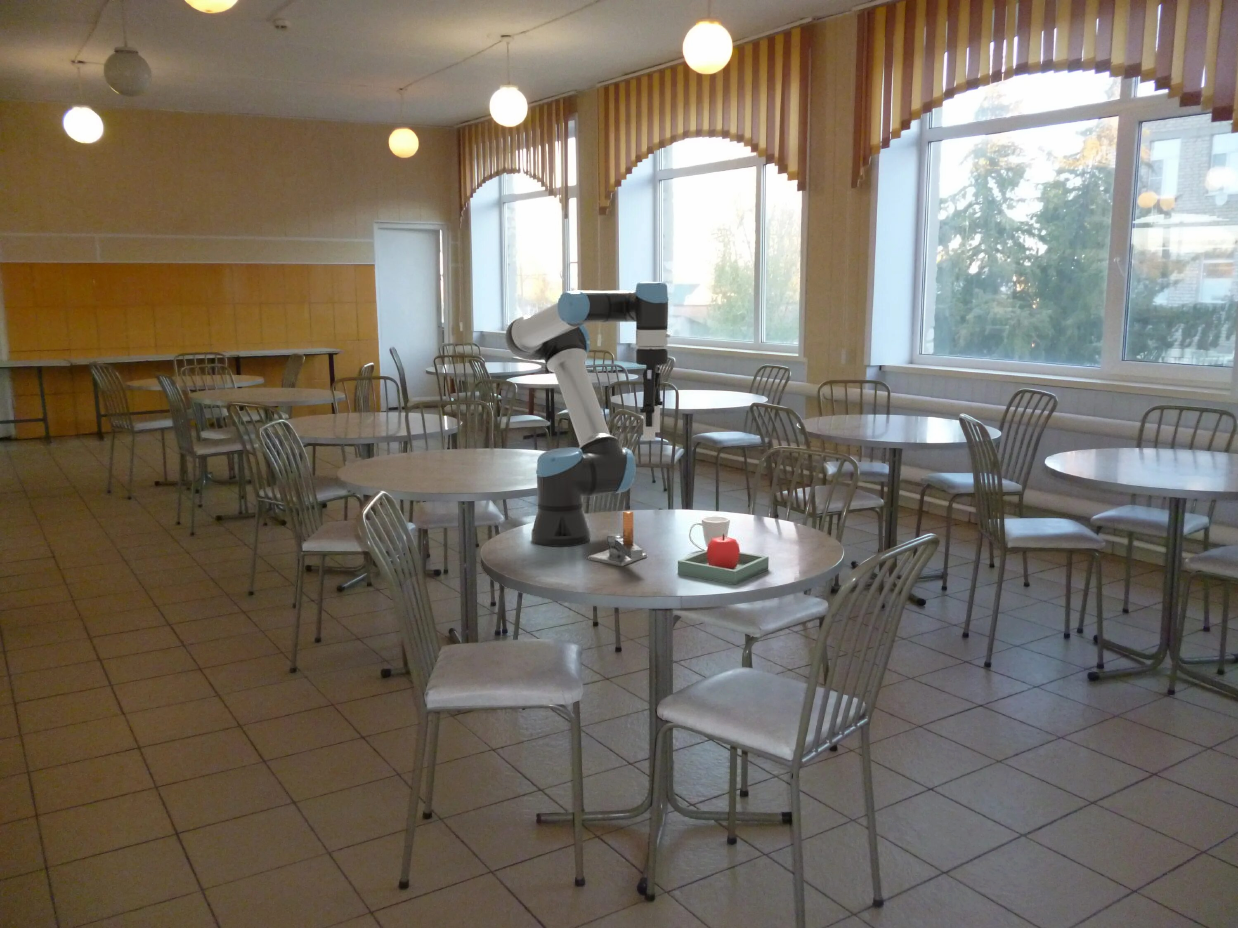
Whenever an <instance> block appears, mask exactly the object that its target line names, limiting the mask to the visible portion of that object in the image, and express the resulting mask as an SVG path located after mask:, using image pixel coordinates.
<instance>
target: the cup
mask: <svg viewBox="0 0 1238 928" xmlns="http://www.w3.org/2000/svg"><path fill="white" fill-rule="evenodd" d="M700 521H701V522H694V523H693V524H692V525H691V526H690V528H689V534H688V535H689V536H688V538H689V541H690V542H691V544H693V545H694V546H695V547H696V548H698V549H699V550H701V551H704V550H707V548H708V545H709V543H710V541H711V540H712V538H718V537H723V534H724V537H728V536H729V535H728V533H729V529H730V524H731V519H730V518H729V517H727V516H721V515H720V516H719V515H712V516H710V515H709V516H705V517H703V518H701V520H700ZM696 525H698V526H702V533H703V538H704V539H703V540H704V542H705V547H707V548H703V547H701V546H700V545H698V544H697V543H695V542H694V541H693V540H692V537H691V534H692V533H691V532H692V529H693V528H694V527H695V526H696Z"/></svg>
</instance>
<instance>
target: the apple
mask: <svg viewBox="0 0 1238 928" xmlns="http://www.w3.org/2000/svg"><path fill="white" fill-rule="evenodd" d="M706 549H707V558H708V564H709V565H711V566H716V567H722V568H727V569H733V568H735V567H737V563H738V558H739V553H740V552H741V550H740V544H739V542H738V541H737V539H735V538H732V537H728V536H727V537H724V534H723V537H718V538H712V540H711V541H710V543H709V545H708V547H707V548H706Z"/></svg>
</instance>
